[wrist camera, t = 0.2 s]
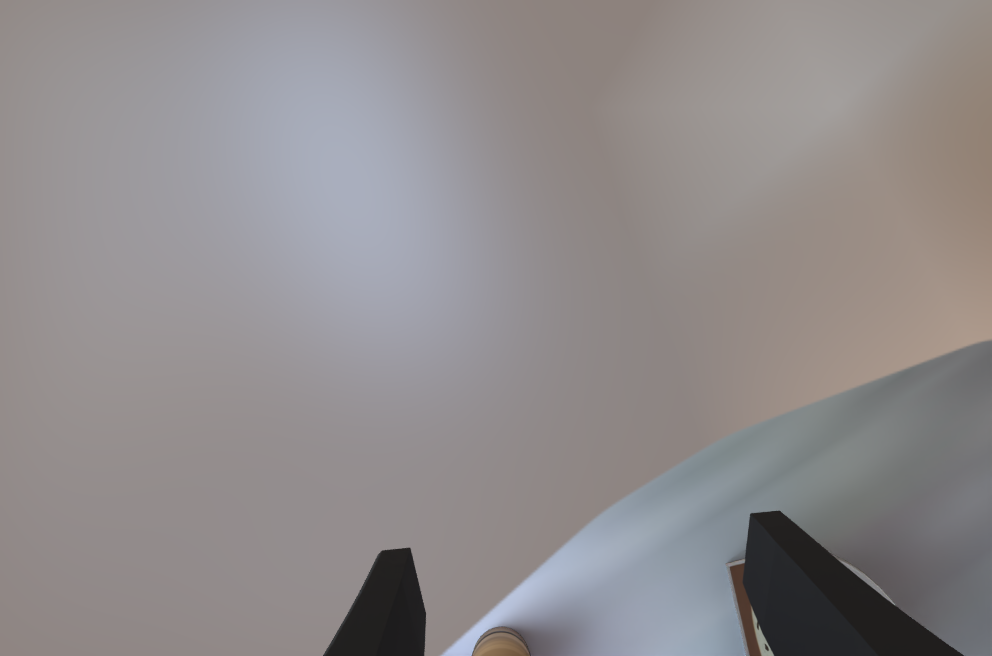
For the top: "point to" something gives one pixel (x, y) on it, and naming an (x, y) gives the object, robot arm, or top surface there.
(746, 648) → the food container
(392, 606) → the robot arm
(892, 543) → the top surface
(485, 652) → the peg
